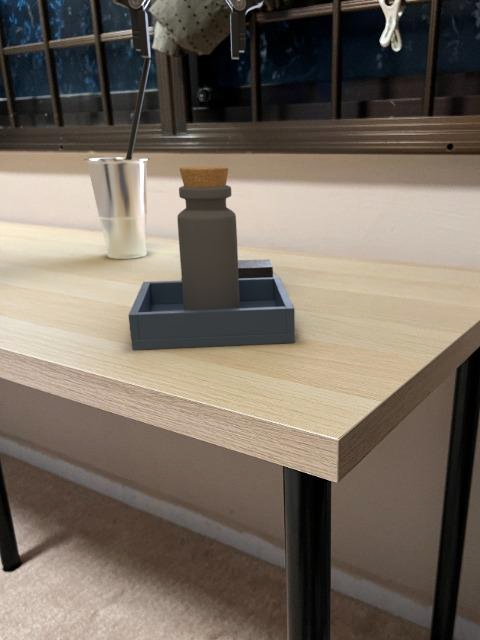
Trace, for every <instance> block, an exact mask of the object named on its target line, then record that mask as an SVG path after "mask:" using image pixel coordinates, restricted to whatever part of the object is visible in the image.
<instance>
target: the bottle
mask: <svg viewBox="0 0 480 640" xmlns="http://www.w3.org/2000/svg"><path fill="white" fill-rule="evenodd" d="M179 172H180V173H179V174H180V176H181V181H182V184H183V185H182V186H180V187H178V195H179V198H181V199H184V200H185V208H184V209H182V210H181V211H180V212H179V213H178V214H177V233H178V235H177V236H178V247H179V260H180V274H181V279H182V288H183V301H184V310H210V309H236V308H240V303H239V275H238V260H239V251H238V250H239V249H238V231H237V216H236V213H235V211H234V210H232V209H230V208H228V207H227V199H228V198H230V197H232V187H231V185H229V184H228V185H227V182H228V181H227V180H228V174H229V167H228V166H222V165H196V166H195V165H194V166H193V165H192V166H183V167H179Z"/></svg>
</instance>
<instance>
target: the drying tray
mask: <svg viewBox="0 0 480 640" xmlns="http://www.w3.org/2000/svg"><path fill="white" fill-rule="evenodd" d="M239 303H240V308H236V309H210V310H184V301H183V288H182V281H181V280H162V281H161V280H157V281H155V280H154V281H153V280H152V281H143V282H142V284H141V286H140V289H139V291H138V293H137V295H136V298H135V299H134V302H133V304H132V306H131V308H130V311H129V312H128V324H129V332H130V340H131V341H130V342H131V349H132V350H133V351H143V350H162V349H163V350H164V349H165V350H166V349H183V348H185V349H186V348H188V349H189V348H208V347H228V346H229V347H230V346H233V347H234V346H249V345H251V346H252V345H272V344H273V345H275V344H295V327H296V326H295V306H294V305H293V302H292V300H291V298H290V296H289V294H288V292H287V290H286V287H285V285H284V283H283V281H282V279H281V277H280V276H276V277H271V278H241V279H239Z"/></svg>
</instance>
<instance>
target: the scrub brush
mask: <svg viewBox="0 0 480 640" xmlns="http://www.w3.org/2000/svg"><path fill="white" fill-rule="evenodd" d="M238 275H239V279H241V278H271V277H277V275H276V274H275V271H274V267H273V265H272V262H271V260H270V259H269V258H268V259H238ZM180 281H182V278H181V279H180Z"/></svg>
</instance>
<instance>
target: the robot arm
mask: <svg viewBox="0 0 480 640" xmlns="http://www.w3.org/2000/svg"><path fill="white" fill-rule="evenodd" d="M111 1H112V2H113V3H114V4H115V5H116V6H121V7H123V8H126V9H127V10H128V11H129V15H130V25H131V37H132V45H133V47H134V49H135V50H136V51H137V52H140V55H141V57H142V58H143V59H145V58H149V59H151V54H152V53H151V44H150V43H151V42H150V41H151V40H150V30H149V29H150V28H149V17H148V15H149V14H148V13H147V12H146V8H147V7H148V5H149V3H150V1H151V0H111ZM225 1H226V3H227V4H228V6H229V7H230V9H231V12H229V13H230V14H229V20H230V22H229V24H230V45H231V46H230V52H231V60H239V59H240V53H245V49H246V46H247V27H246V15H247V13H248V12H250V11H251V10H254V9H259V8H261V7H263V5H264V1H265V0H225Z"/></svg>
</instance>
